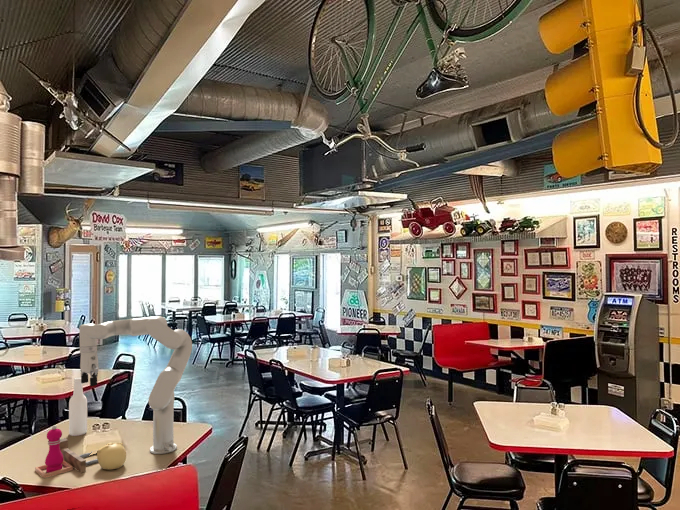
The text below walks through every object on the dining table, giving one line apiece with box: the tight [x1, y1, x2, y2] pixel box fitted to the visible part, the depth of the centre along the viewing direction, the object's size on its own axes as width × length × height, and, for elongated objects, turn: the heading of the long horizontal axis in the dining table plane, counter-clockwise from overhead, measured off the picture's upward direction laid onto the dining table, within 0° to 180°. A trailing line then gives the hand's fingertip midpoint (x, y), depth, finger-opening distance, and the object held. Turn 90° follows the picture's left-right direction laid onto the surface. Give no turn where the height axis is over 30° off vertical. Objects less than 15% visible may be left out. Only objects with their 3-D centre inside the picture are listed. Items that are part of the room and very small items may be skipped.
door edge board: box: [59, 437, 87, 474], centre depth 231 cm, size 28×4×8 cm, turn 48°
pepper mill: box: [44, 425, 64, 473], centre depth 224 cm, size 7×7×20 cm
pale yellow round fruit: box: [96, 442, 127, 470], centre depth 227 cm, size 11×12×11 cm
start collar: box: [78, 451, 99, 467], centre depth 235 cm, size 12×12×2 cm
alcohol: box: [68, 376, 88, 437], centre depth 272 cm, size 9×9×30 cm
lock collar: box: [34, 460, 74, 479], centre depth 223 cm, size 12×12×2 cm
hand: (89, 384), depth 244 cm, fingers open, 9 cm apart
